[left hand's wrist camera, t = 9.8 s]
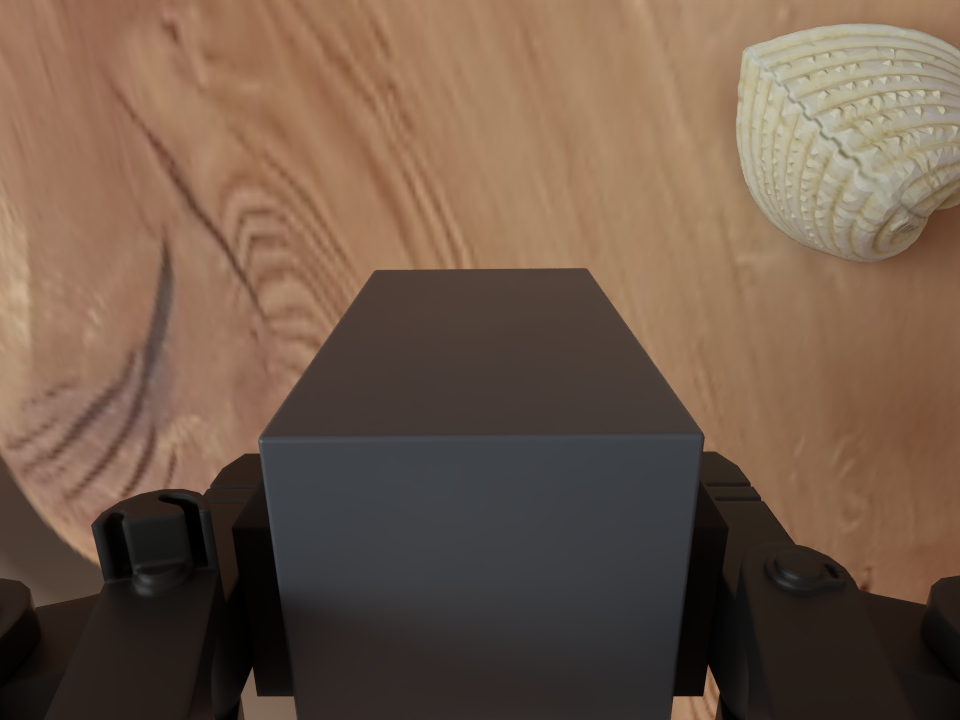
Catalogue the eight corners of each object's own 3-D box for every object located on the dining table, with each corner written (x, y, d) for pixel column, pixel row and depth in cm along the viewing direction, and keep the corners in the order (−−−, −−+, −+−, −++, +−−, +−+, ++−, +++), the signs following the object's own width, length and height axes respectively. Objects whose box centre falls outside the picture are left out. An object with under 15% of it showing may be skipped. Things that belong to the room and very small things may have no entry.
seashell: (871, 329, 27) (765, 282, 22) (771, 189, 31) (666, 125, 26) (1098, 183, 22) (1025, 82, 17) (940, 42, 26) (849, -68, 22)
